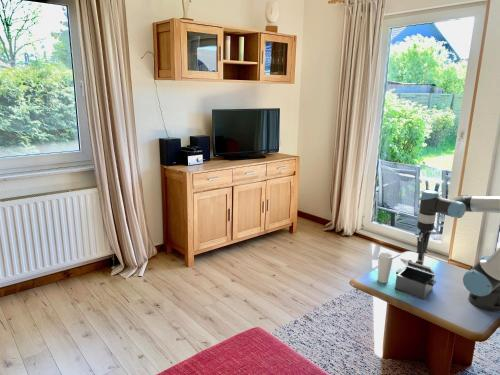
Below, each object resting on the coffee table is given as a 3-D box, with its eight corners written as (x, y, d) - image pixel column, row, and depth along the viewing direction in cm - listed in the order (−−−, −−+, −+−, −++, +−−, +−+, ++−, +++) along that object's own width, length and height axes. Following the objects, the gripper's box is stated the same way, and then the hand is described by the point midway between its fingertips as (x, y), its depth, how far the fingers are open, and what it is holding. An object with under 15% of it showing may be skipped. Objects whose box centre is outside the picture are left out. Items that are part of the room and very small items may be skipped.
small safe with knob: (436, 290, 186) (439, 276, 184) (427, 301, 176) (430, 286, 174) (401, 278, 198) (403, 265, 196) (390, 287, 188) (392, 273, 186)
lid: (434, 274, 186) (436, 269, 186) (429, 269, 175) (431, 263, 176) (406, 265, 195) (408, 260, 195) (400, 259, 184) (402, 254, 185)
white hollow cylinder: (390, 285, 191) (394, 258, 187) (376, 283, 192) (380, 257, 188) (388, 278, 197) (391, 253, 194) (375, 277, 199) (378, 251, 195)
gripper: (422, 216, 188) (416, 258, 194) (413, 222, 179) (407, 266, 185) (438, 219, 183) (431, 262, 190) (429, 226, 174) (423, 271, 181)
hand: (419, 264), depth 187 cm, fingers closed
